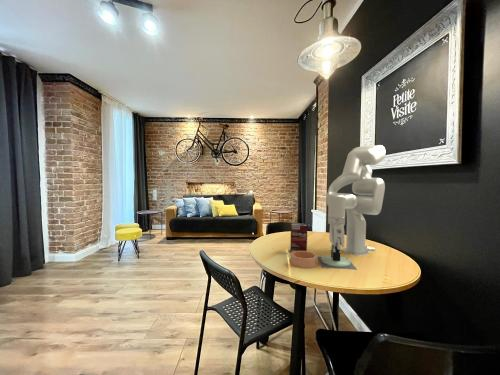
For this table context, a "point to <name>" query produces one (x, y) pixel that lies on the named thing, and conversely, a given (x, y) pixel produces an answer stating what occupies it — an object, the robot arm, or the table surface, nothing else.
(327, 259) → the lid
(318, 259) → the mat
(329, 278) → the table surface
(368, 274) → the table surface
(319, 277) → the table surface
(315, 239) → the table surface
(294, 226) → the supplement box
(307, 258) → the bowl
